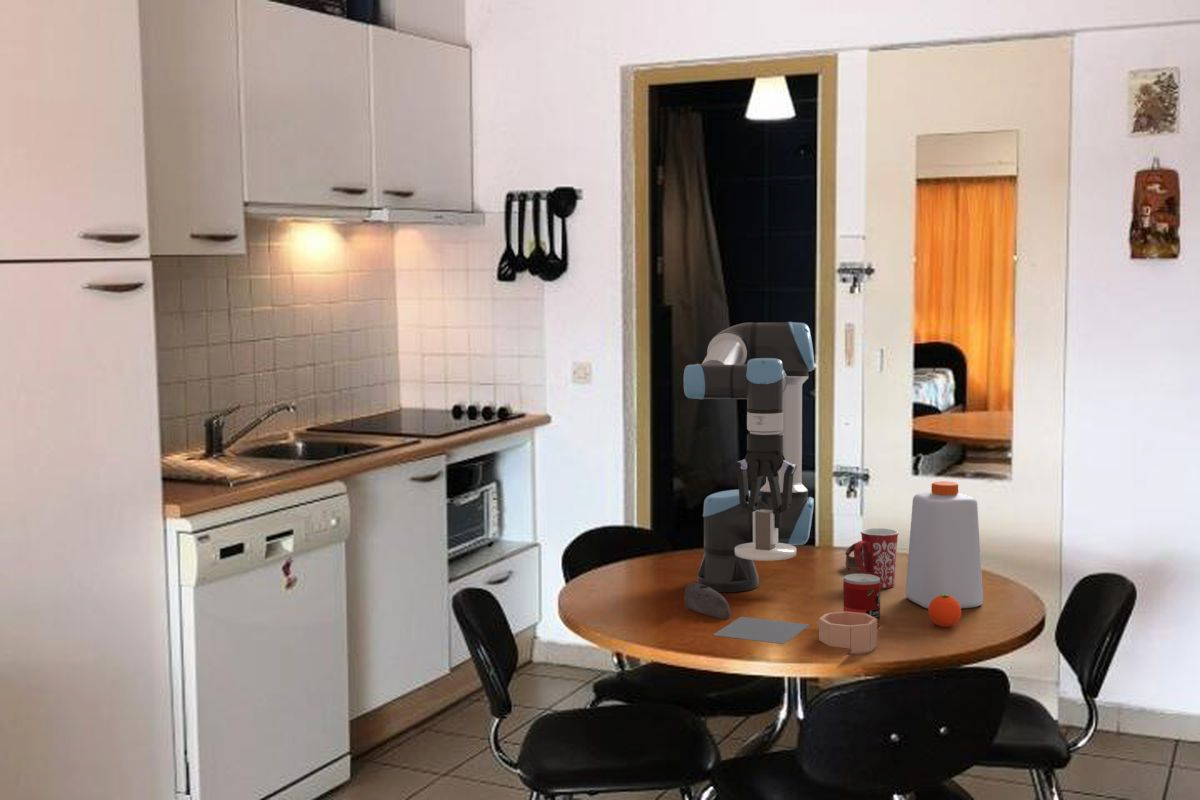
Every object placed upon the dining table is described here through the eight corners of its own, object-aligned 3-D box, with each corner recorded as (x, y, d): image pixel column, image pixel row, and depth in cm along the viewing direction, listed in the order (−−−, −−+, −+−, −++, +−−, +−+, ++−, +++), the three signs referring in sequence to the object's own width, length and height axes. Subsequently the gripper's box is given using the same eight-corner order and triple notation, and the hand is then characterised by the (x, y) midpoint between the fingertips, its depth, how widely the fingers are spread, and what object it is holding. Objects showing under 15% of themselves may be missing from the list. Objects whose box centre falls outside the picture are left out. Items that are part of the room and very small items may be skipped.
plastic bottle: (928, 612, 310) (929, 490, 307) (899, 596, 324) (900, 479, 321) (989, 607, 313) (991, 486, 310) (957, 592, 328) (959, 476, 325)
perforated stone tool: (738, 624, 303) (737, 593, 302) (718, 628, 301) (717, 597, 300) (701, 609, 316) (701, 580, 316) (681, 613, 314) (681, 583, 313)
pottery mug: (892, 574, 349) (880, 549, 346) (859, 590, 350) (847, 566, 347) (876, 552, 360) (865, 528, 357) (844, 568, 361) (832, 544, 358)
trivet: (712, 641, 290) (712, 634, 290) (741, 623, 304) (741, 616, 304) (784, 650, 282) (784, 643, 282) (810, 631, 296) (810, 624, 296)
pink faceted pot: (813, 650, 282) (813, 622, 281) (830, 637, 292) (830, 609, 291) (866, 657, 277) (866, 628, 276) (881, 643, 287) (881, 615, 286)
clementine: (924, 621, 303) (924, 589, 302) (956, 620, 303) (956, 589, 302) (931, 631, 295) (932, 598, 294) (964, 630, 295) (964, 598, 294)
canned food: (872, 633, 294) (872, 583, 293) (837, 628, 298) (837, 579, 297) (885, 625, 300) (885, 575, 299) (851, 620, 305) (851, 571, 303)
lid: (724, 557, 288) (724, 514, 287) (748, 545, 299) (748, 503, 298) (783, 562, 282) (783, 518, 281) (805, 550, 293) (805, 508, 292)
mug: (879, 579, 342) (879, 526, 340) (906, 586, 334) (906, 531, 333) (841, 586, 335) (841, 532, 334) (868, 594, 327) (868, 538, 326)
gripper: (722, 432, 289) (723, 542, 291) (795, 436, 281) (795, 548, 283) (736, 428, 295) (736, 535, 298) (808, 431, 287) (808, 542, 290)
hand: (765, 541), depth 290 cm, fingers closed on lid, 3 cm apart
